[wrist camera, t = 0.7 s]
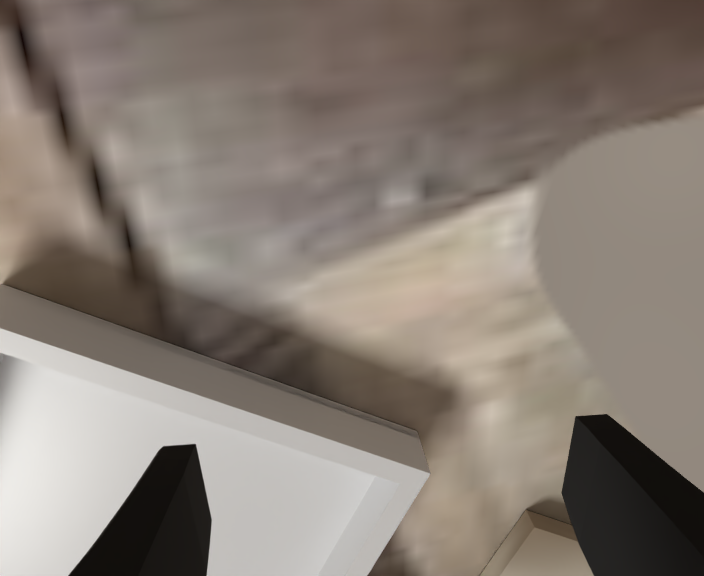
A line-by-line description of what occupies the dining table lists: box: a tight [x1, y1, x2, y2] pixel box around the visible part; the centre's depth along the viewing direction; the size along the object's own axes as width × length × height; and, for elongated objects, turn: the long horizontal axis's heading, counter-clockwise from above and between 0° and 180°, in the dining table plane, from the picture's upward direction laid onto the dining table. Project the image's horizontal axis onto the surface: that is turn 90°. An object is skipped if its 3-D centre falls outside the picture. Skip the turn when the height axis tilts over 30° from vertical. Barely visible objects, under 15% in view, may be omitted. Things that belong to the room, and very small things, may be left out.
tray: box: [0, 284, 431, 576], centre depth 24 cm, size 18×16×2 cm
